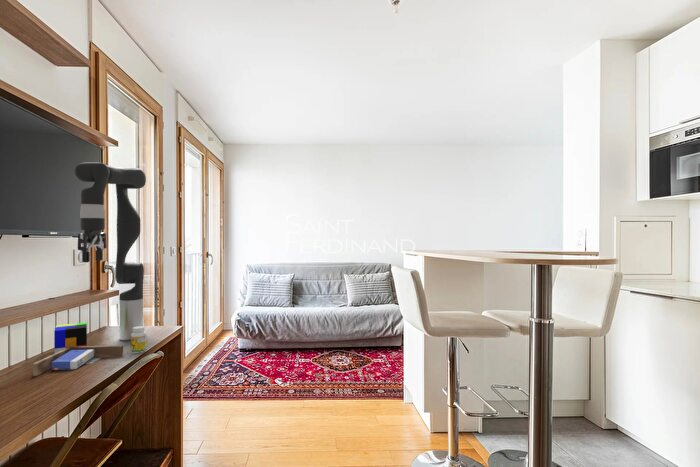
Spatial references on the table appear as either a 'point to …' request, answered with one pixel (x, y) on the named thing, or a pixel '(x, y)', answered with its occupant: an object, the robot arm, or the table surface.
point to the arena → (98, 350)
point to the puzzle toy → (70, 336)
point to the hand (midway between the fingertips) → (92, 261)
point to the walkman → (72, 359)
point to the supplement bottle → (138, 340)
